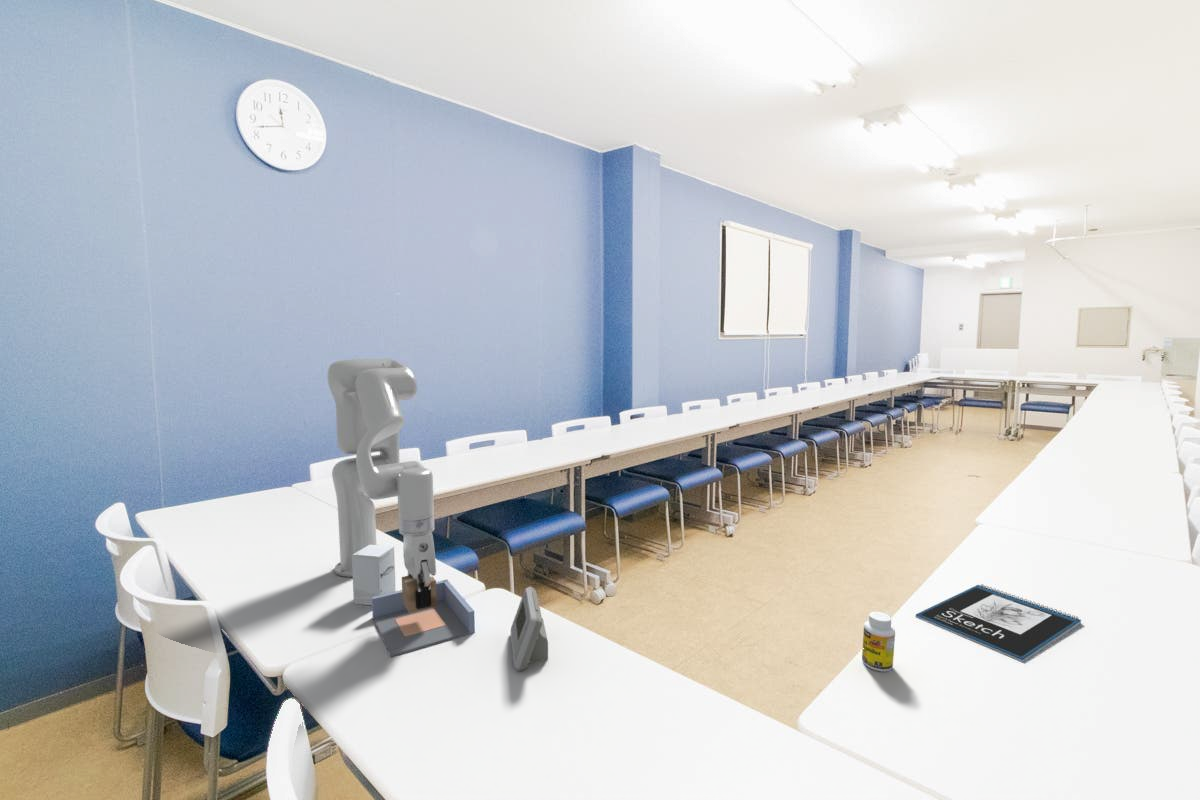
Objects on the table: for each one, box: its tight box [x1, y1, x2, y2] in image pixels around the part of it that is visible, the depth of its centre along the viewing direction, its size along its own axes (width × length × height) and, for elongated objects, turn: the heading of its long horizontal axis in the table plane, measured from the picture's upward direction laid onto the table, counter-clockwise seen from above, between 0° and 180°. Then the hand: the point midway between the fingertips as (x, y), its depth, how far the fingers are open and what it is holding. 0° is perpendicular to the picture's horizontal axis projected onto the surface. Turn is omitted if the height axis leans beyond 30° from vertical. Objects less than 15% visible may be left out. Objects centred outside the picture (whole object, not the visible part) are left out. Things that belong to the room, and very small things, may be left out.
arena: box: [371, 579, 476, 658], centre depth 126 cm, size 19×18×5 cm
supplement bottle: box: [861, 611, 896, 672], centre depth 110 cm, size 6×6×10 cm
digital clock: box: [510, 586, 549, 671], centre depth 115 cm, size 16×9×11 cm, turn 0°
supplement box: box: [352, 544, 397, 606], centre depth 138 cm, size 7×7×13 cm
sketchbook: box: [915, 583, 1082, 663], centre depth 129 cm, size 22×30×2 cm
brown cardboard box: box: [401, 573, 437, 613], centre depth 125 cm, size 6×6×6 cm
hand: (419, 600), depth 126 cm, fingers closed on brown cardboard box, 6 cm apart
